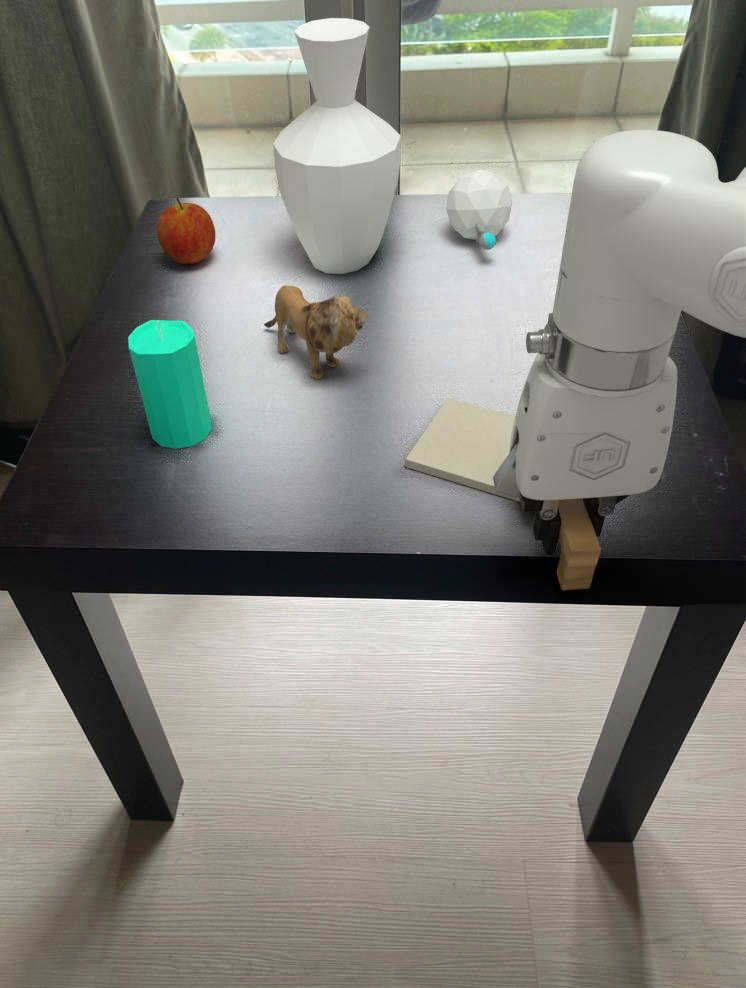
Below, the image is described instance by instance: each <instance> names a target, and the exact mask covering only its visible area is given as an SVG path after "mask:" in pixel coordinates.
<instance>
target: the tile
mask: <svg viewBox="0 0 746 988" xmlns="http://www.w3.org/2000/svg"><path fill="white" fill-rule="evenodd" d="M515 416H516V415H512V414H509V413H505V412H502V411H497V410H494V409H489V408H486V407H483V406H479V405H475V404H473V403H468V402H466V401H461V400H457V399H454V398H450V397H447V398H446V400H445V401H444V402H443V404H442V405H441V407H440V408H439V410H438V411H437V412H436V414H435V416H434V417H433V418H432V419H431V421H430V423H429V424H428V426H427V427H426V429H425V430H424V431H423V433H422V434H421V436H420V437H419V439H418V440H417V442H416V443H415V444H414V446H413V448H412V449H411V451H410V452H409V453H408V455H407V456H406V457H405V459H404V460H405V463H404V464H405V465H404V467H405V468H408V469H411V470H414V471H418V472H421V473H424V474H427V475H430V476H434V477H437V478H439V479H443V480H447V481H450V482H454V483H456V484H460V485H463V486H466V487H468V488H469V487H470V488H473V489H475V490H480V491H481V492H486V493H489V494H493V495H496V496H499V497H502V498H505V499H508V500H512V501H515V502H519V503H520V499H519V497H513V496H509V495H505V494H502V493H498V492H497V491H496V489H495V485H494V481H493V476H494V474H495V473H496V472H497V470H498V469H499V467H500V466H501V464H502V463H503V462H504V460H505V459H506V457H507V456H508V454H509V453H510V441H511V435H512V430H513V425H514V421H515Z"/></svg>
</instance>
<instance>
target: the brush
mask: <svg viewBox="0 0 746 988" xmlns="http://www.w3.org/2000/svg"><path fill="white" fill-rule="evenodd" d="M519 499H520V502H519V503H520V507H521V509H522V512H523V513H526V514H527V513H535V512H536V510H535V509H534V508H532V507H531V506H530V505H528V504H527V503H526V502H524V501H523V500H522V498H521V497H519ZM558 508H559V513H560V516H561V519H562V521H561V527H560V532H559V536H558V543H559V544H560V548H561V552H560V556H559V559H558V560H559V561H558V565H557V570H556V576H557V580H558V584H559V586H560V589H561V591H571V590H572V591H573V590H585V589H586V590H588V589H590V588H591V585H592V582H593V577H594V574H595V570H596V566H597V565H598V562H599V558H600V555H601V552H602V547H601V545H600V542H599V540H598V537H596V534H595V531H594V529H593V526H592V523H591V520H590V518H589V515H588V512H587V510H586V507H585V504H584V501H583V499H582V498H578V499H560V503H559V507H558Z"/></svg>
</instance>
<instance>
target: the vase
mask: <svg viewBox="0 0 746 988" xmlns="http://www.w3.org/2000/svg"><path fill="white" fill-rule="evenodd" d="M369 32H370V25H368V24H367V23H366V22H365V21H362V20H358V19H354V18H348V17H347V18H346V17H345V18H344V17H342V18H341V17H328V18H322V19H316V20H311V21H307V22H306V23H303V24H300V25H298V27H296V29H295V30H294V35H295V38H296V41H297V44H298V47H299V50H300V54H301V57H302V61H303V63H304V67H305V70H306V73H307V76H308V80H309V82H310V85H311V89H312V92H313V95H314V98H315V101H314V102H313V103H312V104H311V105H310V106H309V107H308V108H306V109H305V110H304V111H303V112H302V113H301V114H299V115H298V116H296V118H295V119H293V120H292V121H291V122H290V123H289V124H288V125H286V126H285V127H284V128H283V129H282V130H281V131H280V132H279V134H278V135H277V137H276V138H275V140H274V142H273V143H272V148H273V159H274V169H275V175H276V179H277V180H276V181H277V185H278V189H279V194H280V196H281V199H282V201H283V204H284V207H285V209H286V212H287V215H288V218H289V219H290V222H291V225H292V228H293V230H294V233H295V234H296V237H297V238H298V240H299V242H300V244H301V245H302V247H303V249H304V251H305V253H306V254H307V256H308V258H309V260H310V262H311V264H312V265H313V268H314V269H315V270H317V271H320V272H322V273H325V274H328V275H329V274H331V275H345V274H349V273H354V272H358V271H359V270H361V269H362V268H364V267H365V266H367V265H368V264H370V262H371V260H372V259H373V257H374V256H375V254H376V253H377V251H378V248H379V246H380V245H381V241H382V238H383V235H384V232H385V229H386V227H387V224H388V220H389V216H390V213H391V209H392V205H393V202H394V198H395V194H396V191H397V187H398V183H399V178H400V177H399V176H400V169H401V161H402V160H401V156H402V155H401V151H402V150H401V149H402V147H401V146H402V145H401V144H402V136H401V134H399V132H398V131H397V130H396V129H395V128H394V127H393V126H392V125H391V124H390V123H388V121H386V120H384V119H383V118H382V117H380V116H378V115H377V114H375V113H374V112H373V111H371V110H370V109H369V108H367V107H365V106H364V105H363V104H361V103H360V102H359V101H357V100H355V97H356V92H357V87H358V82H359V78H360V73H361V69H362V64H363V60H364V55H365V50H366V46H367V41H368V37H369Z"/></svg>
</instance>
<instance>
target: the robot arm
mask: <svg viewBox="0 0 746 988" xmlns="http://www.w3.org/2000/svg"><path fill="white" fill-rule="evenodd" d="M718 169H719V168H718V165H717V161H716V158H715V157H714V155H713V153H712V152H711V151H710V150H709V149H708V148H707V147H706V146H705V145H704V144H702V143H701V142H699V141H697V140H696V139H693V138H691V137H690V136H689V137H688V136H686V135H683V134H679V133H676V132H671V131H666V130H659V129H658V130H657V129H631V130H624V131H623V130H622V131H618V132H614V133H611V134H610V133H609V134H608V135H605V136H603V137H601V138H599V139H598V140H596V141H594V142H592V143H591V145H590V146H588V148H587V149H585V151H584V152H583V155H581V157H580V159H579V161H578V163H577V166H576V169H575V174H574V179H573V184H572V190H571V196H570V202H569V207H568V214H567V221H566V227H565V232H564V233H565V234H564V240H563V245H562V250H561V251H562V252H561V258H560V264H559V269H558V270H559V271H558V275H557V276H558V277H557V283H556V289H555V295H554V300H553V307H552V312H548V317H547V323H546V324H545V327H544V328H542V329H541V328H540V329H538V331H528V332H527V333H526V336H525V348H526V353H527V354H536V355H535V358H534V360H533V362H532V364H531V367H530V369H529V370H528V371H529V372H528V374H527V377H526V379H525V381H524V384H523V388H522V391H521V395H520V397H519V401H518V405H517V409H516V412H515V415H514V416H515V421H514V425H513V430H512V435H511V441H510V453H509V454H508V456H507V457H506V459H505V460H504V462H503V463H502V464H501V466H500V467H499V469H498V470H497V472H496V473H495V474H494V476H493V481H494V485H495V489H496V491H497V492H498V493H502V494H505V495H509V496H513V497H521V498H522V500H523V501H524V502H526V503H527V504H528V505H530V506H531V507H532V508H534V509H535V510H536V512H534V517H533V523H532V532H533V537H534V540H535V541H536V542H541V545H542V548H543V551H544V552H543V553H544V555H545V556H546V557H548V556H550V557H551V556H554V555H555V554H556V553H557V548H558V543H559V539H558V536H559V532H560V527H561V521H562V519H561V516H560V513H559V508H558V507H559V503H560V499H578V498H582V499H583V501H584V504H585V507H586V510H587V512H588V515H589V518H590V520H591V523H592V526H593V529H594V531H595V534H596V537H597V538H600V537H601V536H602V535H601V534H602V532H603V527H604V523H605V520H606V517H609V516H611V515H612V514H613V513H614V512H615V509H616V506H617V505H618V504H619V503H621V502H623V501H624V500H625V499H627V498H628V497H630V496H632V495H638V494H642V493H645V492H648V491H650V490H652V489H653V488H655V487H656V486H657V485H658V484H659V483H660V482H662V481H663V480H664V479H665V477H666V476H665V472H664V468H665V463H666V460H667V456H668V453H669V452H668V451H669V447H670V442H671V437H672V432H673V427H674V419H675V418H674V417H675V411H676V401H677V391H678V368H677V365H676V363H675V362H674V360H673V359H672V358H671V357H670V353H671V349H672V346H673V342H674V339H675V335H676V332H677V327H678V324H679V321H680V317H681V313H682V312H684V313H686V314H688V315H689V316H691V317H693V318H695V319H698V320H699V321H701V322H703V323H705V324H707V325H709V326H711V327H713V328H715V329H718V330H720V331H722V332H725V333H728V334H730V335H733V336H736V337H739V338H745V339H746V166H745V167H744V168H743V169H742V170H741V172H740V173H739V174H738V176H737V177H736V178H735V180H731V181H728V182H722V181H721V180H720V179H719V170H718Z"/></svg>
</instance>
